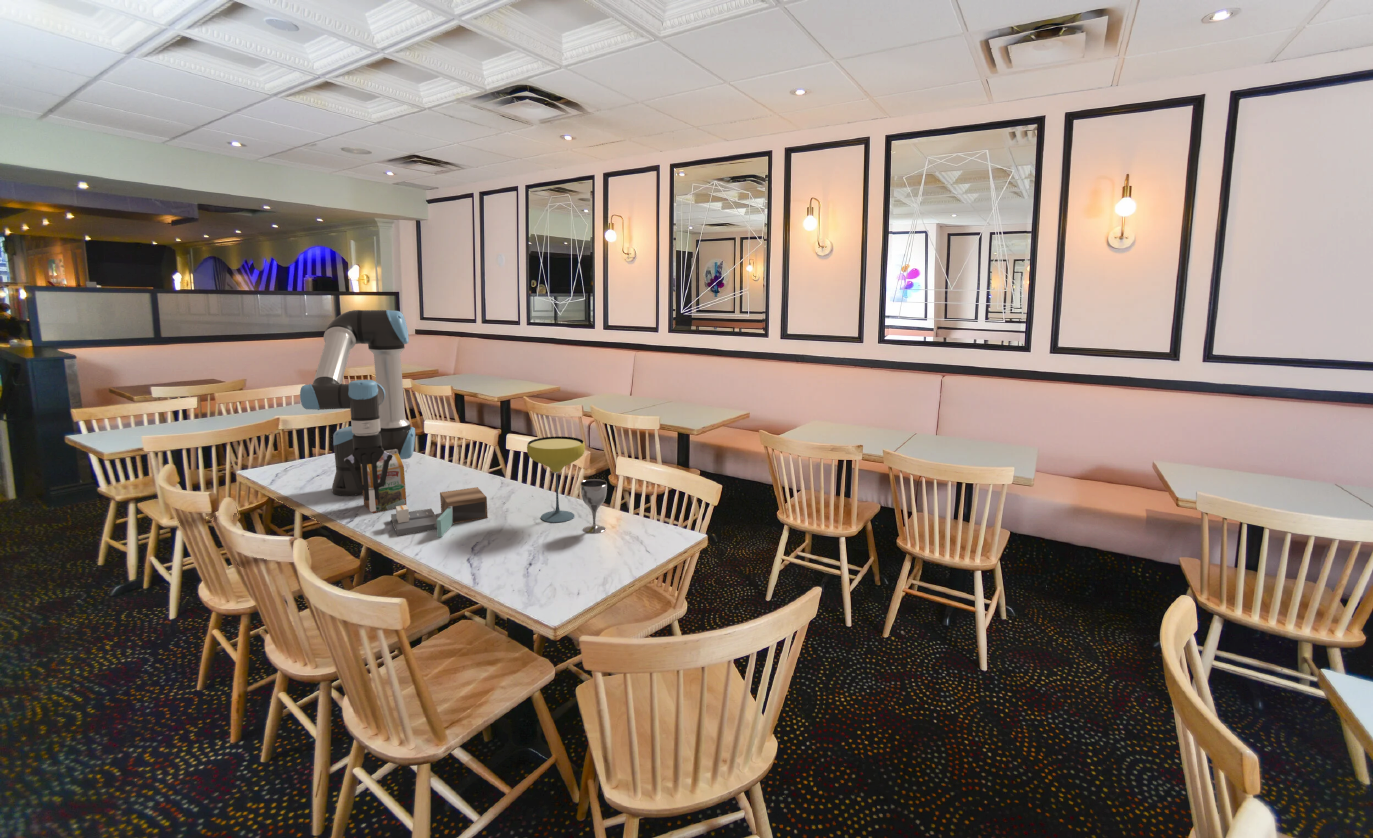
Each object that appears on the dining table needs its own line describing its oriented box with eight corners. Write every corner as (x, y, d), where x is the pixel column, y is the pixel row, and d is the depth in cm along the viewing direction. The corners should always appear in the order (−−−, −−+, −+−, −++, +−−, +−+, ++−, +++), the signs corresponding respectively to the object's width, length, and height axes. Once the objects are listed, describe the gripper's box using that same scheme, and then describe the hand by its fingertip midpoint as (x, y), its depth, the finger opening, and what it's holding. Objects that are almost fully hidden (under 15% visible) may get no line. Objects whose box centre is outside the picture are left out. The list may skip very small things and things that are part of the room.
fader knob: (396, 518, 195) (395, 505, 194) (407, 517, 196) (406, 504, 195) (398, 523, 191) (397, 510, 190) (409, 521, 192) (408, 508, 192)
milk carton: (373, 513, 205) (368, 457, 201) (364, 505, 213) (359, 450, 209) (406, 506, 212) (402, 452, 208) (396, 498, 220) (392, 446, 216)
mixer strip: (391, 520, 199) (390, 514, 198) (431, 514, 205) (431, 508, 205) (397, 536, 186) (397, 529, 186) (440, 528, 193) (440, 522, 192)
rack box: (441, 512, 207) (440, 492, 205) (478, 506, 213) (477, 487, 211) (448, 524, 197) (447, 502, 195) (487, 517, 203) (486, 497, 201)
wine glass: (611, 526, 197) (611, 480, 194) (600, 535, 190) (599, 488, 187) (588, 523, 199) (588, 478, 197) (576, 532, 192) (575, 485, 189)
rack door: (453, 523, 197) (452, 506, 196) (442, 537, 185) (440, 519, 184) (445, 523, 197) (444, 506, 196) (433, 537, 185) (432, 519, 184)
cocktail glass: (596, 513, 209) (595, 439, 204) (564, 530, 193) (562, 451, 188) (552, 504, 217) (550, 434, 212) (517, 521, 200) (514, 444, 196)
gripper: (342, 437, 177) (349, 517, 182) (392, 433, 184) (398, 510, 188) (340, 432, 184) (347, 510, 188) (389, 428, 190) (394, 503, 195)
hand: (372, 510), depth 188 cm, fingers closed
